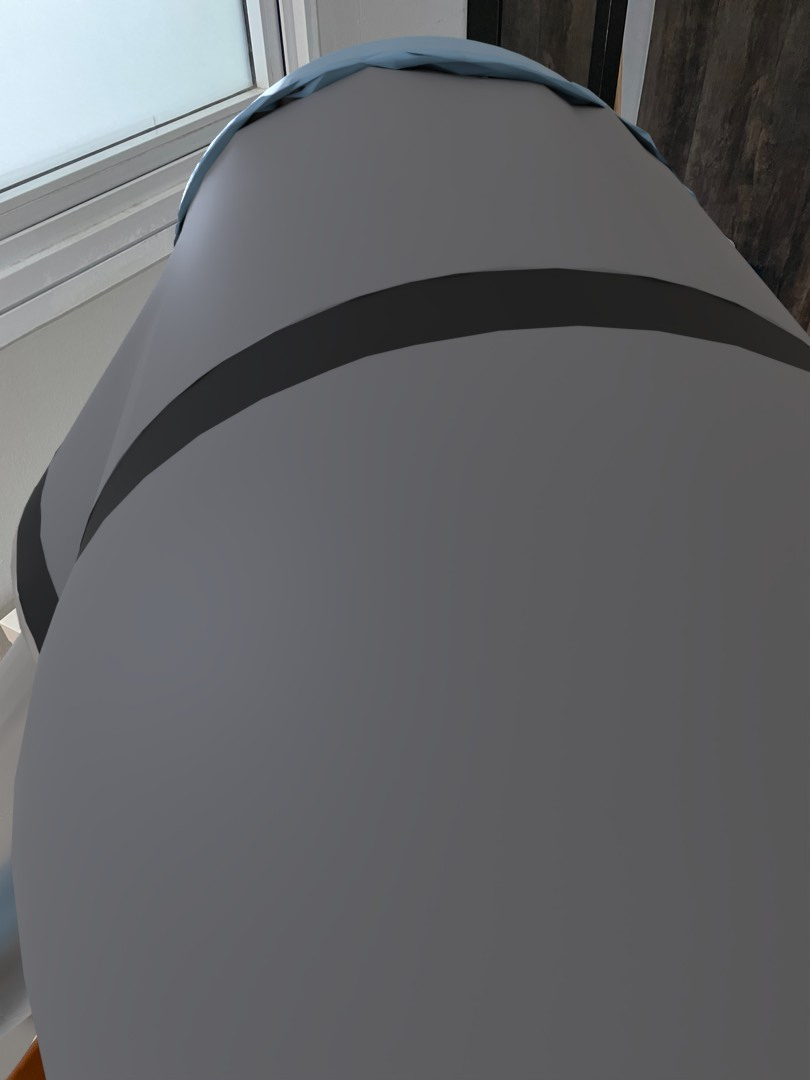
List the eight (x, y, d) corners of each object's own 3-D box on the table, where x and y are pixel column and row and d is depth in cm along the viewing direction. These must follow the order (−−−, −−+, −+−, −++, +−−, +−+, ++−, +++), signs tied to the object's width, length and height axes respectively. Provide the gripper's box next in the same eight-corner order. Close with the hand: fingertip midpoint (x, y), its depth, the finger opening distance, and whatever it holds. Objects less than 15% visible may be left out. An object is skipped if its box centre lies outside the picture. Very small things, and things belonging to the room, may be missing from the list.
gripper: (671, 1053, 44) (393, 807, 56) (863, 757, 57) (605, 605, 68) (699, 1005, 39) (387, 745, 50) (903, 691, 52) (617, 539, 63)
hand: (511, 664), depth 59 cm, fingers open, 13 cm apart
